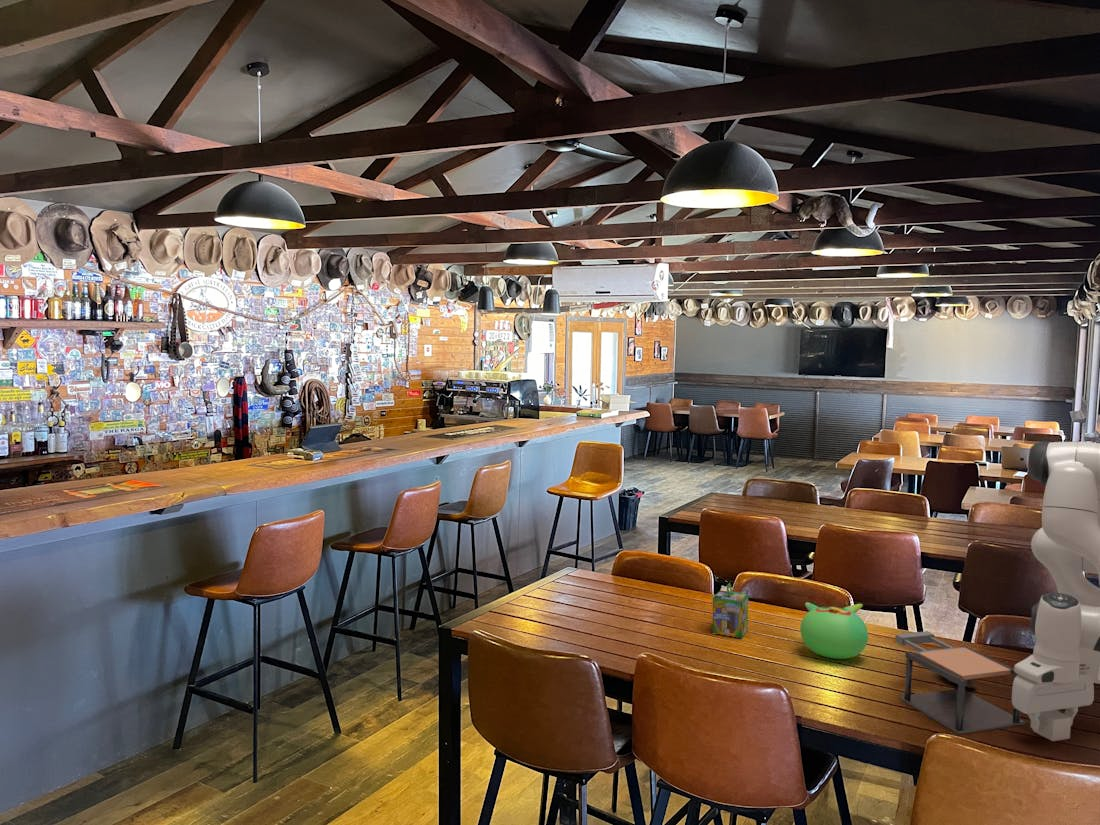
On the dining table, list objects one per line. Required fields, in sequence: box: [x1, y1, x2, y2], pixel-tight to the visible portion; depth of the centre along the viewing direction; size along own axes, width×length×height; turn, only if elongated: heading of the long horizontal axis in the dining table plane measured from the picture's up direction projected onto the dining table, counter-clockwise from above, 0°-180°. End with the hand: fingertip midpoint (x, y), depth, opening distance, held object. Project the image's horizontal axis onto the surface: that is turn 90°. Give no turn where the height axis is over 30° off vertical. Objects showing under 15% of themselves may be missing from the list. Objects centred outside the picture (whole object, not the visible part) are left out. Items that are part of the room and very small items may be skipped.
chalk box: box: [711, 582, 750, 639], centre depth 242 cm, size 9×9×15 cm
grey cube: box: [1032, 710, 1072, 742], centre depth 180 cm, size 5×5×5 cm
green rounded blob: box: [799, 602, 869, 660], centre depth 225 cm, size 18×17×15 cm
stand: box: [899, 645, 1026, 735], centre depth 191 cm, size 19×19×12 cm
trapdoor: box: [894, 630, 1011, 680], centre depth 195 cm, size 24×14×2 cm, turn 17°
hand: (1051, 726), depth 180 cm, fingers open, 7 cm apart
